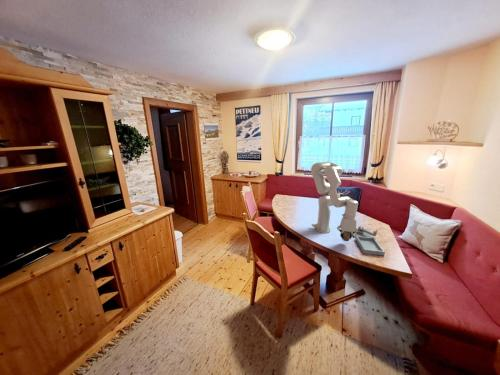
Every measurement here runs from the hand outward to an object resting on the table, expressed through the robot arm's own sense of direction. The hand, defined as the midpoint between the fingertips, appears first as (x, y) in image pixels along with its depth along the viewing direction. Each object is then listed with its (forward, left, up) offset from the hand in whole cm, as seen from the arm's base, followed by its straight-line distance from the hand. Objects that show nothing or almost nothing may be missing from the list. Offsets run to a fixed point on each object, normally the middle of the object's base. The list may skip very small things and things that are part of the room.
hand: (345, 237), depth 145 cm
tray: (+16, -1, -5) cm, 17 cm away
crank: (+20, +15, -2) cm, 25 cm away
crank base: (+16, +19, -5) cm, 26 cm away
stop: (0, 0, -2) cm, 2 cm away
